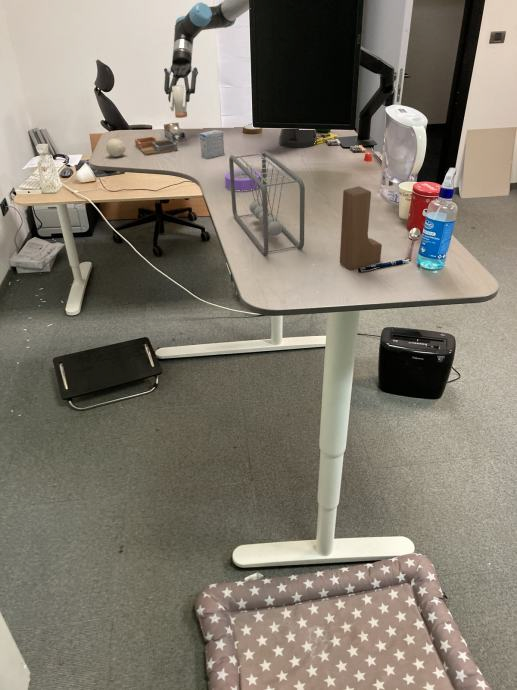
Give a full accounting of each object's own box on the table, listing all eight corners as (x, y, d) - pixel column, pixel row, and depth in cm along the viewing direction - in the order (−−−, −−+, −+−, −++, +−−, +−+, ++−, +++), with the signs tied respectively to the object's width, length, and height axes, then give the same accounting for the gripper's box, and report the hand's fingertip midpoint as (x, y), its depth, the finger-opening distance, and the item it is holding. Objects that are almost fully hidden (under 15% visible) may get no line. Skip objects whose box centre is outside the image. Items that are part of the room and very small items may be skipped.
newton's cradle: (232, 216, 157) (228, 153, 147) (266, 210, 160) (264, 148, 149) (265, 258, 133) (262, 187, 123) (304, 251, 136) (305, 181, 126)
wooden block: (369, 254, 133) (375, 181, 123) (380, 261, 130) (388, 187, 119) (338, 263, 129) (342, 189, 119) (350, 270, 126) (355, 195, 116)
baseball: (123, 159, 210) (120, 141, 206) (105, 159, 211) (102, 141, 207) (129, 154, 215) (126, 136, 211) (111, 154, 216) (108, 136, 212)
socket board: (177, 150, 216) (176, 144, 215) (145, 155, 212) (144, 148, 211) (166, 141, 229) (165, 134, 228) (135, 145, 225) (134, 139, 224)
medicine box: (218, 152, 212) (216, 129, 207) (224, 155, 209) (223, 131, 204) (201, 156, 208) (199, 133, 203) (207, 159, 205) (205, 135, 200)
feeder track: (186, 140, 229) (185, 126, 226) (172, 142, 227) (170, 128, 224) (179, 134, 238) (177, 121, 235) (165, 136, 236) (163, 123, 233)
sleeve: (188, 116, 215) (185, 86, 209) (177, 118, 214) (173, 88, 208) (185, 114, 219) (181, 84, 213) (174, 116, 218) (170, 86, 211)
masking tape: (255, 178, 185) (254, 167, 183) (265, 189, 176) (265, 177, 173) (221, 183, 182) (220, 171, 180) (231, 194, 173) (230, 182, 171)
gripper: (205, 61, 218) (202, 114, 214) (163, 63, 220) (159, 115, 216) (201, 48, 211) (197, 102, 207) (158, 49, 213) (153, 103, 209)
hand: (178, 108), depth 212 cm, fingers closed on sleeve, 4 cm apart
